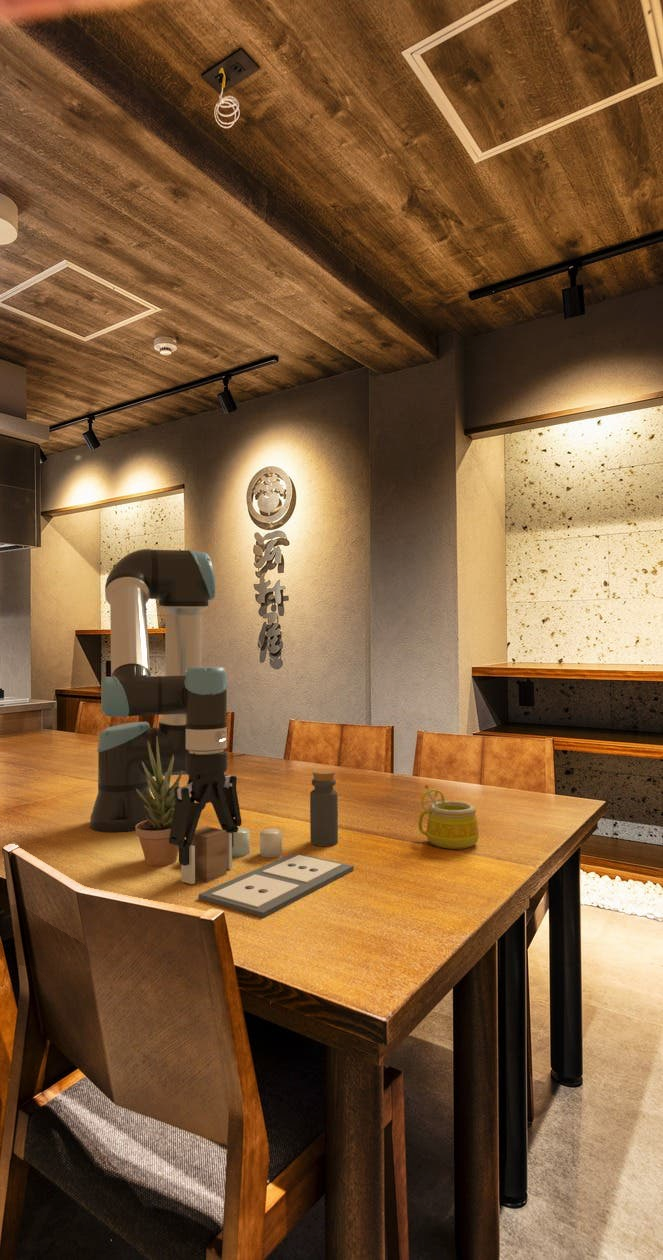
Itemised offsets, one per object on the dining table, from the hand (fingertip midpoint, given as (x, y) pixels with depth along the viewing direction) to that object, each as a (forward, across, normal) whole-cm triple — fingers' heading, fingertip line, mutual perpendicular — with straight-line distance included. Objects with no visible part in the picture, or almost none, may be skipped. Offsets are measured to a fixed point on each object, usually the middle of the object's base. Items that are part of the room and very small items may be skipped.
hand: (207, 874), depth 124 cm
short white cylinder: (0, +16, -2) cm, 16 cm away
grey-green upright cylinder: (0, +13, +4) cm, 14 cm away
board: (0, +4, -14) cm, 14 cm away
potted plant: (0, +1, +13) cm, 13 cm away
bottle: (0, +28, -6) cm, 29 cm away
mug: (+1, +42, -28) cm, 51 cm away
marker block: (0, 0, 0) cm, 0 cm away
